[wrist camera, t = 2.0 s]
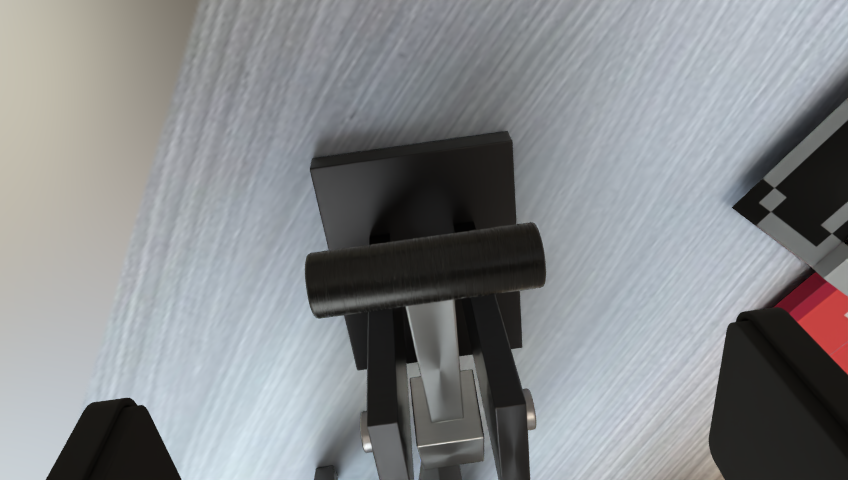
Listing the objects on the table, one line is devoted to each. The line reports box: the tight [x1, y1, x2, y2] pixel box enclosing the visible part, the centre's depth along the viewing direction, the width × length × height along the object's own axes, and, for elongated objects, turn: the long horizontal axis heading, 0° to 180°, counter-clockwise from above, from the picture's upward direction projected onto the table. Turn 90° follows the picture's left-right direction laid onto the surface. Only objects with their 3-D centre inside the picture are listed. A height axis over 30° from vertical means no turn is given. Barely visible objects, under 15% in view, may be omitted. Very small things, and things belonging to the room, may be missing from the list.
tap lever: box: [305, 222, 546, 469], centre depth 18 cm, size 12×5×2 cm, turn 7°
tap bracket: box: [310, 131, 536, 480], centre depth 26 cm, size 12×9×13 cm
